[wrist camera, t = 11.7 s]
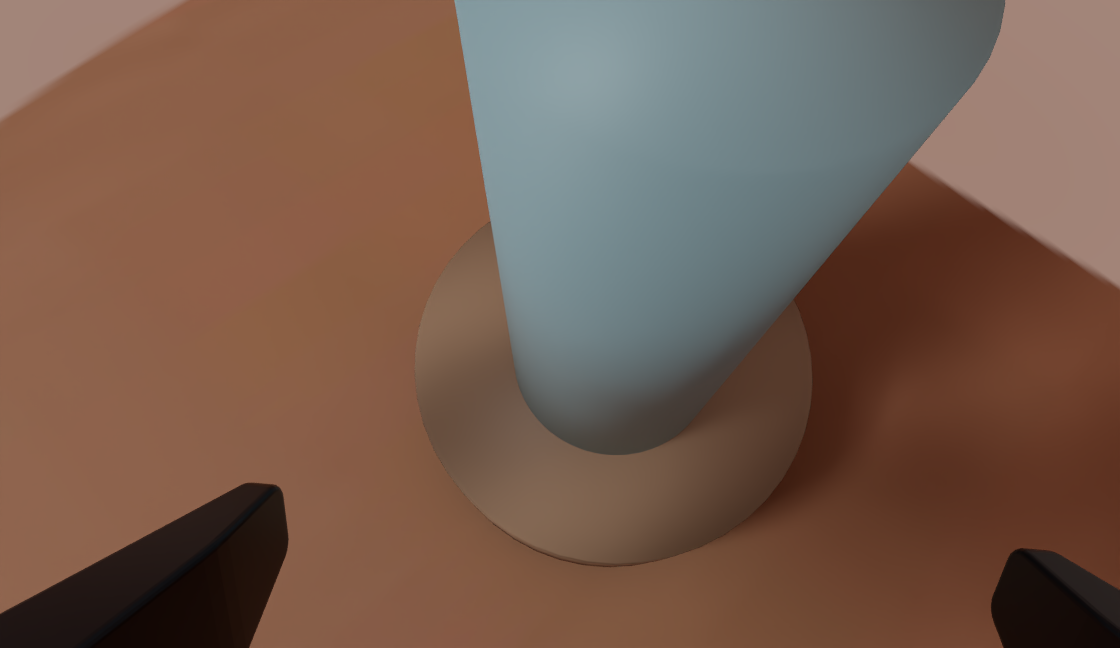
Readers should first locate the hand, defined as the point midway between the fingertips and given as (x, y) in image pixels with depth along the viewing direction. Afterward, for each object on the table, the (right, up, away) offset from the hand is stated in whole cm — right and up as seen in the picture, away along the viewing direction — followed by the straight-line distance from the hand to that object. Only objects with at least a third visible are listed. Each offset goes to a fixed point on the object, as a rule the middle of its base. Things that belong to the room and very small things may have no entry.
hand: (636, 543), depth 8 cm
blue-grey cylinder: (0, +2, +10) cm, 11 cm away
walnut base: (0, +1, +13) cm, 13 cm away
